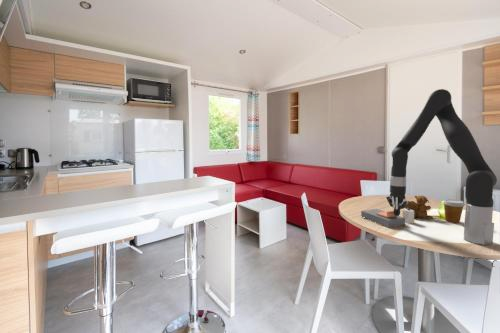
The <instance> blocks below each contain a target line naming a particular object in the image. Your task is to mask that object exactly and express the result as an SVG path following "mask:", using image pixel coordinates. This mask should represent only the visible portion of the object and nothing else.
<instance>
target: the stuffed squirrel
mask: <svg viewBox="0 0 500 333" xmlns="http://www.w3.org/2000/svg"><path fill="white" fill-rule="evenodd" d="M414 198H415V200H416V202H415V201H414V200H411V201H410V200H408V201H409V204H408V205H407V206H406V207H405V208H404V209H407V208H410V210H414V219H415V218H417V219H422V220H434V217H433V215H430V214H429V215H428V211H429V210H431V209H432V206H431V205H426V204H427V203H428V204H429V203H430V201H429V200H428V198H427V197H426V196H424V195H414Z"/></svg>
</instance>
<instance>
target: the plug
mask: <svg viewBox="0 0 500 333" xmlns="http://www.w3.org/2000/svg"><path fill="white" fill-rule="evenodd" d="M402 217H404V218H405V224H414V222H415V218H414V210H410V208H407V209H406V208H404V209H402Z"/></svg>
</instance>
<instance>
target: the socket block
mask: <svg viewBox="0 0 500 333" xmlns="http://www.w3.org/2000/svg"><path fill="white" fill-rule="evenodd" d="M379 212H386V211H385V210H381V209H378V208H374V209H366V210H361V214H360V216H362V217H365V218H367V219H369V220H368V221H370V220H371V221H370V222H372V221H374V222H373V223H375V222H376V224H377V223H378V225H380V224H381V225H380V226H383V227H385V228H388V229H389V228H395V227H400V226H405V225H406V222H405V218H404V217H403V216H400V215H399V216H397V217H390V218H386V217H383V216H381V215H378V214H376V213H379ZM362 217H361V218H362ZM365 218H364V219H365ZM367 219H366V220H367Z"/></svg>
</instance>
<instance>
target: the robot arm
mask: <svg viewBox="0 0 500 333" xmlns="http://www.w3.org/2000/svg"><path fill="white" fill-rule="evenodd" d="M435 117H436V118H437V119H438V121H439V123H440V126H441V129H442V132H443V134H444V136H445V138H446V142H448V144H449V146H450V148H451V150H452V151H453V153H454V154H455V155H456V156H457V157H458V158H459V159H460V160H461V161H462V163H463V164H464V166H465V168H466V170H467V172H468V175H467V177H466V179H465V190H464V191H465V194H464V195H465V213H464V227H463V240H465V241H467V242H469V243H473V244H478V245H482V246H487V245H490V244H493V242H494V241H493V240H494V230H495V223H494V222H493V213H494V198H493V190H494V187H495V186H496V184H497V181H498V179H497V176H496V174H495V173H494V171H493V170H492V169H491V168H490V166H489V165H488V162H486V160H485V159H484V157H483V155H482V152H481V150H480V148H479V146H478V143H477V142H476V140H475V138H474V136H473V134H472V133H471V131H470V128H468V126H467V125H466V123H465V122H464V121H463V120H462V119H461V118H460V117H459V115H458V114H457V112H456V110H455V108H454V106H453V103H452V95H451V92H450V91H449V90H448V89H444V88H441V89H436V90H434V91H433V92H431V93H430V95H429V96H428V98H427V101H426V103H425V104H424V107H423V108H422V110H421V112H420V113H419V114H418V117H417V118H416V119H415V120H414V122H412V125H411V126H410V127H409V129H408V130H407V131H406V133H405V134H404V135H403V136H402V138H401V140H400V141H399V142H398V144H397V145H395V147H394V148H393V150H392V152H391V157H392V166H391V171H390V172H391V173H390V180H389V181H390V182H389V183H390V184H389V193H390V194H389V196H386V201H387V202H388V204H389V206H390V208H391V207H392V208H393V210H394V215H395V216H400V215H401V210H404V209H406V208H405V207H406V206H407V205H408V204H409V201H410V200H407V199H406V193H407V165H408V160H409V159H408V158H409V152H410V151H411V150H412V148H413V147H415V146H416V145H417V144H418V142H419V141H420V140H421V139H422V138H423V136H424V134H425V133H426V131H427V129H428V127H429V126H430V124H431V122H432V121H433V120H434V119H435Z"/></svg>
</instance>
